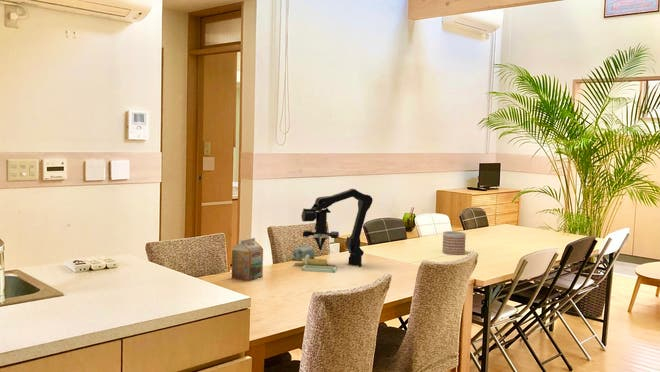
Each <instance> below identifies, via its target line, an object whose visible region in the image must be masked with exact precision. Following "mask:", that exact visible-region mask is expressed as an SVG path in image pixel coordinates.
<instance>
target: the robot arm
mask: <svg viewBox="0 0 660 372" xmlns="http://www.w3.org/2000/svg"><path fill="white" fill-rule="evenodd" d="M349 198H350V199H351V198H354V199H355V200H357V213H356V217H355V221H354V224H353V228H352V232H351V234H350V235H349V237H348V236H347V237H346V241H345V243H344V244H345V249H346V250H347V251H348V253H349V256H348V265H349V266H358V268H361V267H362V266H363V263H362V262H363V261H362V259H363V255H364V253H365V251H364V250H363V249H362V248H361V233H362V230H363V227H364V222H365V219H366V215H367V212H368V210H369V209H370V208H371V206H372V204H373V198H372V196H371V195H369V194H365V193H362V192H361V191H358V190H357V189H356V188H349V189H348V190H344V191H342V192H339V193H335V194H332V195H328V196H327V195H326V196H318V197H317V198H316V199H315V201H314V204H313V205H312V206H311V208H303V209H302V212H301V221H302V222H314V221H315V224H314V230H315V231H312V230H308V229H305V230H304V231H302V237H304V238H309V237H310V236H313V239H314V240H315V242H316V244H317V246H318V250H319V251H322V250H323V246H324V244H325V241H326V240H328V239H329V237H330V238H331V239H338V238H340V233H339V232H340V231H335V230H334V231H331V232H328V230H329V228H328V225H327V220H328V219H327V218H328V215H327V214H331V212H332V211H331V210H330V209H329V207H331V206H332V205H334V204H336V203H338V202H341V201H344V200H348V199H349Z"/></svg>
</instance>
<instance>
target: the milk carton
mask: <svg viewBox="0 0 660 372" xmlns="http://www.w3.org/2000/svg"><path fill="white" fill-rule="evenodd" d="M263 261H264V248H263V247H262V245H260V244H259V242H257V241H256V238H255V237H252V238H245V239H242V240H240V243H238V244H237V245H235V246H234V247H233V248H232V249H231V279H234V278H235V279H234V280H241V281H244V282H251V281H255V280H258V278H259V279H261V277H262V278H263V277H264V276H263V273H264V272H263V270H264V266H263V265H264V264H263V263H264V262H263Z"/></svg>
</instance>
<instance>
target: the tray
mask: <svg viewBox="0 0 660 372" xmlns="http://www.w3.org/2000/svg"><path fill="white" fill-rule="evenodd" d="M337 270H338V267H337V266H335V267H328V266H311V265H304V266H303V267H301V271H302V272H314V273H329V274H330V273H331V274H333V273H336V271H337Z"/></svg>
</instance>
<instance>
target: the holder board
mask: <svg viewBox="0 0 660 372" xmlns="http://www.w3.org/2000/svg"><path fill="white" fill-rule="evenodd" d="M303 266H304V265H302V262H295V263H293V265H292V267H298V268H302V267H303ZM311 266H316V265H311ZM327 266H328V267H337V265H336V264H328V263H327Z"/></svg>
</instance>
